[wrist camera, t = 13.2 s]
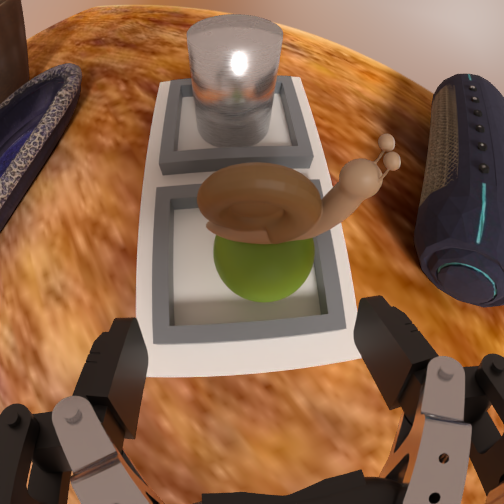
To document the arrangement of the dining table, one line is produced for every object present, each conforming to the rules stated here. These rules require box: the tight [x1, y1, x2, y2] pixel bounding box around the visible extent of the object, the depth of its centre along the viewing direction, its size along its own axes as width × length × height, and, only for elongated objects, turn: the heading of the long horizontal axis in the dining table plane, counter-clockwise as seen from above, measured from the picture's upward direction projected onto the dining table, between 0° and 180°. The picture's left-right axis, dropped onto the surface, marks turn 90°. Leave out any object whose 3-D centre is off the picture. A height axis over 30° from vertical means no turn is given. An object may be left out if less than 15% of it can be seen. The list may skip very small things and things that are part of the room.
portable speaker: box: [414, 74, 504, 307], centre depth 19 cm, size 25×10×10 cm, turn 152°
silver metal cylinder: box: [187, 14, 283, 148], centre depth 19 cm, size 6×6×9 cm
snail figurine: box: [197, 134, 401, 302], centre depth 13 cm, size 5×6×12 cm
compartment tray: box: [136, 76, 362, 377], centre depth 21 cm, size 14×26×3 cm, turn 5°
